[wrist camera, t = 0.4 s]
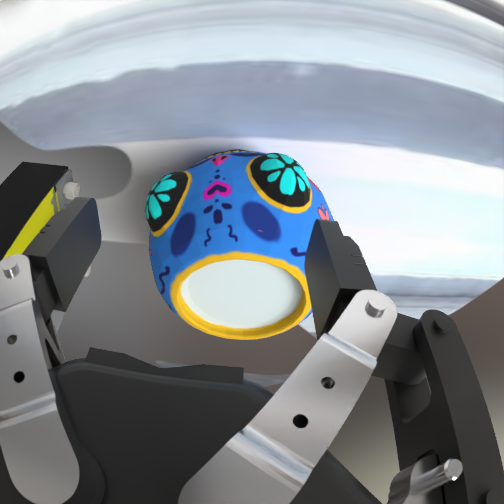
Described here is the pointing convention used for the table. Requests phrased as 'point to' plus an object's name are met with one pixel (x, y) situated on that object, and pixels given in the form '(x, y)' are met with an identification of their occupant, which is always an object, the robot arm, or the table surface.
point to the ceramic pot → (235, 242)
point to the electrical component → (33, 207)
